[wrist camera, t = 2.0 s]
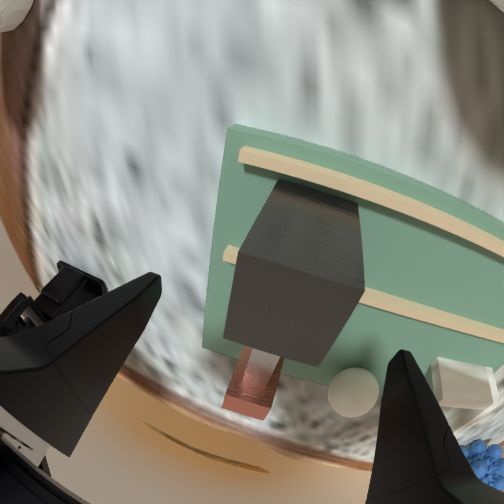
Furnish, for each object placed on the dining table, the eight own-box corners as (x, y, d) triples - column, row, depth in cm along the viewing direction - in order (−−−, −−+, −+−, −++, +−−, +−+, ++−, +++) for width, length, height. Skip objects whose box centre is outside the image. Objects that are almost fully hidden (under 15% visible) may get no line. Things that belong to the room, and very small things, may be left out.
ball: (365, 387, 22) (362, 428, 19) (323, 378, 22) (316, 419, 19) (388, 363, 20) (388, 408, 16) (342, 352, 20) (337, 398, 17)
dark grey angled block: (285, 365, 22) (265, 437, 17) (237, 350, 22) (209, 419, 17) (357, 202, 13) (364, 290, 8) (278, 178, 14) (238, 251, 9)
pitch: (452, 397, 22) (454, 413, 21) (207, 337, 25) (198, 354, 24) (569, 265, 11) (580, 281, 10) (235, 124, 14) (221, 131, 13)
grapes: (511, 419, 23) (517, 490, 13) (505, 433, 25) (508, 496, 16) (442, 442, 29) (439, 514, 19) (442, 453, 31) (439, 516, 21)
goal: (440, 401, 23) (442, 442, 19) (387, 393, 24) (386, 439, 20) (489, 357, 18) (500, 404, 14) (435, 344, 19) (443, 398, 15)
